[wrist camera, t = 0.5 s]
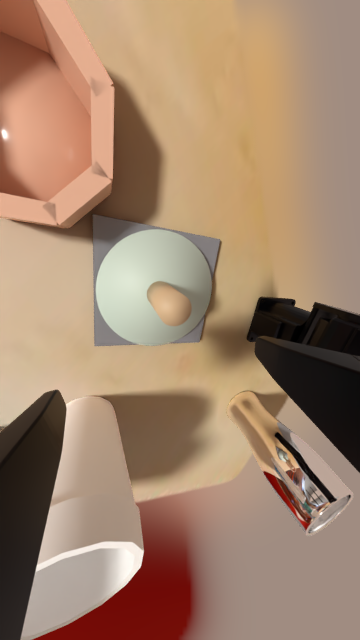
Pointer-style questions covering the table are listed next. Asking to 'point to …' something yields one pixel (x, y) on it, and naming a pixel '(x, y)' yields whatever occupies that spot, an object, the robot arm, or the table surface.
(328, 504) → the beer glass
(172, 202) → the table surface
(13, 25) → the bowl
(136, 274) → the lid
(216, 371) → the table surface
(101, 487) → the foam cup
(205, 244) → the mat
